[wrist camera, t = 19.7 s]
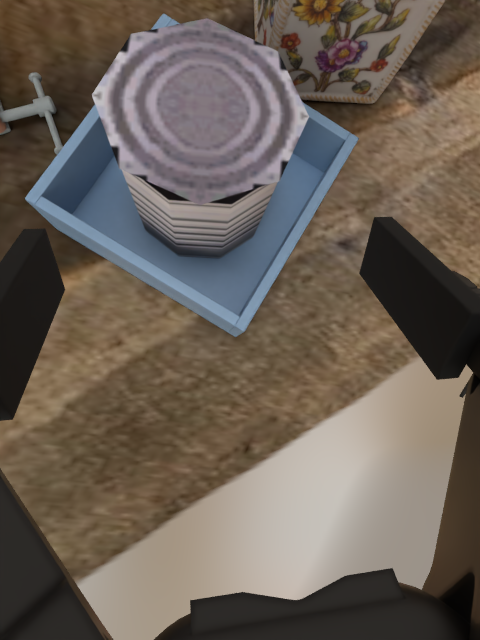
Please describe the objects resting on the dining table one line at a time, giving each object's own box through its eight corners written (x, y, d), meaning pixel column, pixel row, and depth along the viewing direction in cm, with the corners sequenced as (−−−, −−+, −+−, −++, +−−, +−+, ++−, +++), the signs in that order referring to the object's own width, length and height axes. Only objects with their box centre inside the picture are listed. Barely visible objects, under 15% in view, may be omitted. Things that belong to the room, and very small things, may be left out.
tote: (55, 228, 31) (24, 198, 25) (168, 71, 34) (163, 12, 28) (235, 337, 32) (244, 331, 26) (332, 175, 34) (359, 138, 29)
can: (112, 232, 31) (59, 151, 19) (162, 115, 32) (141, -28, 20) (242, 280, 31) (269, 231, 20) (283, 163, 33) (332, 53, 21)
